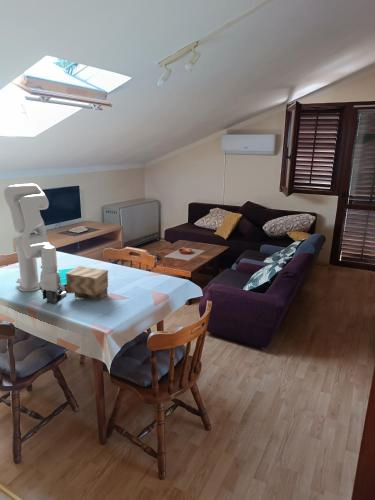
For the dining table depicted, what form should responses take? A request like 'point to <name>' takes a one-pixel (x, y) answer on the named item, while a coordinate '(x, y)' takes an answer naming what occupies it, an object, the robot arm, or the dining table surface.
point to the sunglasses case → (66, 289)
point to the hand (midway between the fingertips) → (52, 299)
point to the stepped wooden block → (88, 282)
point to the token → (79, 297)
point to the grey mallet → (53, 296)
